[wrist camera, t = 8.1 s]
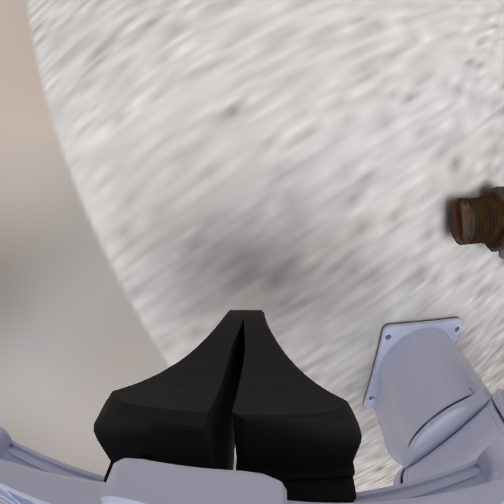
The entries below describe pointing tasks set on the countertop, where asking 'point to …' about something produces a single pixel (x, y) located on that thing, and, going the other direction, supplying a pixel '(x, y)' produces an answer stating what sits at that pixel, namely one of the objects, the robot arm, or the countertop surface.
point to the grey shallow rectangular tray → (501, 254)
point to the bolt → (479, 220)
